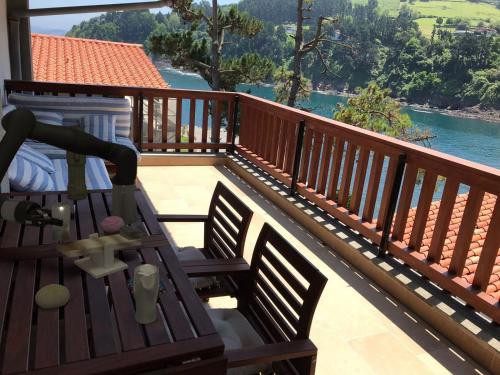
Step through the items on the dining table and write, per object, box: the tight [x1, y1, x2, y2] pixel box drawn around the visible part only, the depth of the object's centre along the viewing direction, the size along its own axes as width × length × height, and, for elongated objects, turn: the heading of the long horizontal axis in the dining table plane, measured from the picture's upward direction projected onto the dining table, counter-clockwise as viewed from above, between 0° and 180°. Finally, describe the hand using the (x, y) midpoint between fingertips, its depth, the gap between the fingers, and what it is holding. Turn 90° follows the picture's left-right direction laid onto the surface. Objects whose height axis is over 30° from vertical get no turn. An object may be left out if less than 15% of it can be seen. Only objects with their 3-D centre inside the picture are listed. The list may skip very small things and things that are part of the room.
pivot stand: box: [74, 232, 129, 279], centre depth 153 cm, size 12×14×10 cm
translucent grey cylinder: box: [50, 201, 72, 242], centre depth 142 cm, size 6×6×11 cm
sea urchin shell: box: [34, 283, 71, 310], centre depth 130 cm, size 9×8×8 cm
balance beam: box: [55, 225, 143, 259], centre depth 152 cm, size 27×8×5 cm, turn 137°
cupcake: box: [100, 216, 126, 236], centre depth 173 cm, size 9×9×10 cm
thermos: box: [65, 125, 88, 202], centre depth 216 cm, size 9×12×35 cm
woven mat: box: [125, 277, 167, 299], centre depth 142 cm, size 10×11×2 cm
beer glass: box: [133, 263, 160, 325], centre depth 124 cm, size 7×7×15 cm
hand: (68, 219), depth 141 cm, fingers closed on translucent grey cylinder, 5 cm apart
